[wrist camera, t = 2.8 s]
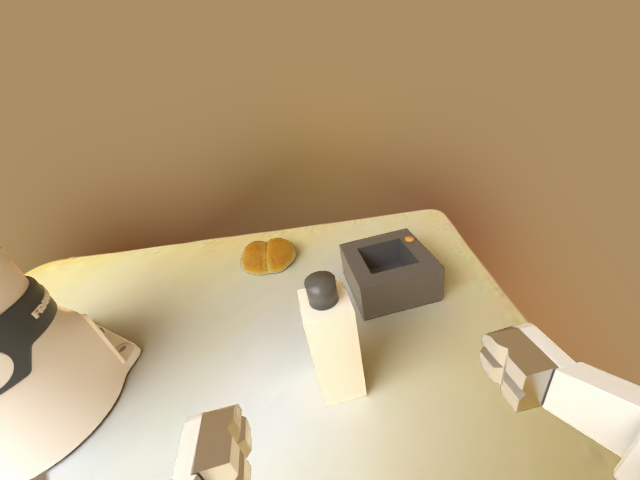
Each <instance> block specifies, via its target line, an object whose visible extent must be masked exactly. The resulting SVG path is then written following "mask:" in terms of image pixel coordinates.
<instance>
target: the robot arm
mask: <svg viewBox="0 0 640 480" xmlns="http://www.w3.org/2000/svg"><path fill="white" fill-rule="evenodd" d="M482 343H483V345H484V347H483V349H482V350H481V351H480V361H481V364H482V367H483V369H484V371H485V372H486V374H487V375H488V377H489V378H490V379H491V380H492V381H494V382H496V383H497V384H499V385H500V388H501V394H502V395H503V396H504V398H505V399H506V400H507V402H508V403H509V404H510V405H511V407H512V408H513V409H514V411H515V412H516V413H517V412H521V411H525V410H528V409H532V408H536V407H540V406H543V407H542V408H544V409H546V410H547V411H549V412H550V413H552V414H553V415H555V416H557V417H558V418H560V419H561V420H563V421H564V422H566V423H568V424H569V425H571V426H572V427H574V428H575V429H577V430H579V431H580V432H582V433H583V434H585V435H587V436H588V437H590V438H591V439H593V440H594V441H596V442H598V443H599V444H601V445H602V446H604V447H605V448H607V449H609V450H610V451H612V452H613V453H615V454H616V455H618V456H620V457H621V460H620V461H619V463H618V464H617V466H616V467H615V469H614V477H615V478H616V479H617V480H640V386H638V385H636V384H634V383H631V382H629V381H626V380H624V379H622V378H619V377H617V376H614V375H612V374H609V373H607V372H605V371H602V370H600V369H597V368H595V367H593V366H590V365H588V364H585V363H583V362H577V363H576V362H575V361H574V360H573V359H572V358H571V357H569V356H568V355H567V354H566V353H565V352H564V351H563V350H562V349H560V348H559V347H558V346H557V345H556V344H555V343H554V342H553V341H552V340H550V339H549V338H548V337H547V336H546V335H545V334H544V333H543V332H541V331H540V330H539V329H538V328H537V327H536V326H535V325H533V324H531V323H529V322H528V323H523V324H520V325H516V326H513V327H512V326H511V327H508V328H504V329H501V330H498V331H494V332H491V333H488V334H485V335H484V336H483V337H482ZM140 353H141V349H140V348H139V347H138V346H137V345H136V344H135V343H133V342H131V341H129V340H127V339H125V338H123V337H121V336H119V335H117V334H115V333H113V332H111V331H109V330H107V329H105V328H103V327H101V326H99V325H97V324H96V323H94V322H93V321H92V320H91V319H90V318H89V317H88V316H87V315H86V314H83V315H80V314H79V313H78V312H75V311H73V310H69V309H66V308H63V307H60V306H57V304H56V302H55V301H54V300H53V299H52V298H51V296H50V294H49V292H48V291H47V290H46V289H45V288H44V287H43V286H42V285H40V284H39V283H38V282H37V281H36V280H35V279H34V278H32V277H30V276H25V275H24V274H23V273H22V272H21V271H20V269H19V268H18V267H17V266H16V265H15V264H14V263H13V261H12V260H11V259H10V258H9V257H8V255H7V254H6V253H5V252H4V251H3V250H2V248H1V247H0V480H30V479H32V478H34V477H36V476H37V475H39V474H41V473H42V472H44V471H46V470H47V469H49V468H50V467H52V466H53V465H55V464H56V463H57V462H59V461H60V460H61V459H63V458H64V457H65V456H67V455H68V454H69V453H70V452H71V451H73V450H74V449H75V448H76V447H77V446H78V445H79V444H81V443H82V442H83V441H84V440H85V439H86V438H87V437H88V436H89V435H90V434H91V433H92V432H93V431H94V430H95V428H96V427H97V426H98V425H99V424H100V423H101V422H102V420H103V419H104V418H105V416H106V415H107V414H108V412H109V411H110V410H111V408H112V407H113V405H114V403H115V402H116V400H117V398H118V396H119V394H120V392H121V389H122V387H123V384H124V381H125V378H126V375H127V373H128V371H129V370H130V368H131V367H132V366H133V364H134V363H135V361H136V360H137V358H138V357H139V355H140ZM241 413H242V409H241V408H240V406H239V405H238V404H236V405H232V406H228V407H224V408H221V409H217V410H213V411H209V412H205V413H201V414H198V415H194V416H191V417H188V418H187V420H186V422H185V424H184V428H183V432H182V437H181V441H180V446H179V450H178V455H177V459H176V464H175V468H174V473H173V478H172V480H251V465H250V464H249V462H248V460H247V457H248V455H249V453H250V451H251V448H252V439H251V430H250V426H249V423H248V420H247V419H246V417H243V416H241Z"/></svg>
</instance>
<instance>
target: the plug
mask: <svg viewBox="0 0 640 480" xmlns="http://www.w3.org/2000/svg"><path fill="white" fill-rule="evenodd" d="M304 284H305V288H304V289H300V290H297V294H298V300H299V306H300V311H301V317H302V323H303V327H304V330H305V334H306V338H307V341H308V345H309V349H310V352H311V356H312V359H313V363H314V367H315V370H316V374H317V377H318V381H319V385H320V388H321V392H322V395H323V399H324V403H325V406H326V407H328V406H332V405H335V404H339V403H342V402H346V401H349V400H353V399H357V398H360V397H364V396H367V392H366V385H365V378H364V372H363V365H362V358H361V351H360V344H359V338H358V331H357V324H356V317H355V311H354V308H353V306H352V303H351V301H350V298H349V296H348V293H347V291H346V288H345V286H344V283H343V281H342V279H340V280H336V281H335V276H334V275H333V274H332V273H330V272H328V271H318V272H314V273H312V274H310V275H309V276H308V277H307V278H306V279H305V282H304Z"/></svg>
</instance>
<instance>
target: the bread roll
mask: <svg viewBox="0 0 640 480" xmlns="http://www.w3.org/2000/svg"><path fill="white" fill-rule="evenodd" d="M295 256H296V253H295V248H294V246H293V245H292V244H291V242H289V241H288V240H286V239H282V238H275V239H271V240H269V241H268V242H267V243H266V242H263V241H254V242H252V243H250V244H248V245H247V246H246V248H245V250H244V252H243V254H242V258H241V268H242V270H243V271H244V272H246V273H249V274H252V275H265V274H268V273H271V274H273V273H279V272H282V271H284V270H285V269H286V268H287V267H288V266H289V265H290V264H291V263H292V262H293V261H294V260H295Z"/></svg>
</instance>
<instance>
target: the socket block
mask: <svg viewBox="0 0 640 480" xmlns="http://www.w3.org/2000/svg"><path fill="white" fill-rule="evenodd" d="M339 246H340V252H341V258H342V265H343V271H344V274H345V277H346V279H347V282H348V284H349V286H350V289H351V291H352V293H353V296H354V298H355V300H356V303H357V305H358V307H359V310H360V312H361V314H362V317H363V319H364V321H365V320H368V319H372V318H376V317H380V316H384V315H388V314H391V313H395V312H399V311H403V310H407V309H411V308H414V307H418V306H422V305H426V304H430V303H434V302H437V301H441V300H442V299H443V283H444V267H443V266H442V265H441V264H440V263H439V261H438V260H437V259H436V258H435V257H434V256H433V255H432V254H431V253H430V252H429V251H428V250H427V249H426V248H425V247H424V246H423V245H422V244H421V243H420V242H419V241H418V239H417V238H416V237H415V236H414V235H413V234H412V233H411V232H410V231H409V230H408V229H407V228H406V229H402V230H398V231H394V232H390V233H386V234H381V235H377V236H373V237H369V238H365V239H361V240H356V241H352V242H348V243H344V244H340V245H339Z"/></svg>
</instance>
